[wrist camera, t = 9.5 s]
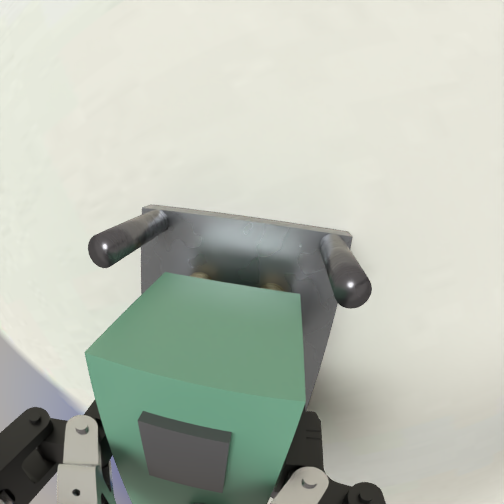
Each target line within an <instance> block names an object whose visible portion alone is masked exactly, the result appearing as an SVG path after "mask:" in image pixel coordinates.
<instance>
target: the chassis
mask: <svg viewBox="0 0 504 504" xmlns="http://www.w3.org/2000/svg"><path fill="white" fill-rule="evenodd" d="M351 241H352V236H351V234H350V233H349V232H347V231H341V230H334V229H328V228H322V227H315V226H309V225H302V224H296V223H289V222H282V221H275V220H268V219H261V218H254V217H247V216H240V215H232V214H225V213H217V212H209V211H201V210H193V209H185V208H176V207H168V206H159V205H148V206H145V207H143V208H142V215H140V216H138V217H135V218H133V219H131V220H128V221H126V222H124V223H121V224H119V225H117V226H115V227H112V228H110V229H108V230H106V231H103V232H101V233H99V234H97V235H95V236H93V237H92V238H91V239H90V241H89V245H88V251H89V255H90V258H91V259H92V261H93V262H94V263H95V264H96V265H97V266H99V267H102V268H108V267H110V266H112V265H113V264H115V263H116V262H118V261H119V260H121V259H122V258H124V257H125V256H127V255H129V254H130V253H132V252H133V251H135V250H136V249H138V248H139V247H141V293H142V294H143V293H144V292H145V291H146V290H147V289H148V288H149V287H150V286H151V285H152V284H153V283H154V282H155V281H156V280H157V279H158V278H159V277H160V276H161V275H162V274H164V273H165V272H168V273H173V274H179V275H185V276H190V277H196V278H202V279H208V280H214V281H220V282H226V283H232V284H238V285H244V286H251V287H257V288H263V289H270V290H276V291H283V292H290V293H297V294H300V300H301V316H302V332H303V351H304V372H305V398H306V402H305V408H306V409H307V406H308V403H309V400H310V397H311V394H312V391H313V388H314V385H315V382H316V378H317V375H318V372H319V369H320V365H321V362H322V359H323V355H324V352H325V348H326V345H327V341H328V338H329V334H330V330H331V327H332V323H333V319H334V315H335V311H336V307H337V303H338V304H340V305H341V306H343V307H345V308H357V307H359V306H361V305H363V304H364V303H365V302H366V301H367V300H368V299H369V297H370V295H371V290H372V287H371V283H370V281H369V279H368V277H367V276H366V274H365V273H364V271H363V269H362V268H361V266H360V265H359V263H358V262H357V260H356V258H355V257H354V255H353V254H352V252H351V251H350V246H351ZM274 490H275V486H274V488H273V491H272V493H271V495H270V497H272V498H275V497H276V496H277V494H278V492H274Z"/></svg>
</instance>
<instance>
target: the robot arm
mask: <svg viewBox="0 0 504 504" xmlns="http://www.w3.org/2000/svg"><path fill="white" fill-rule="evenodd" d="M321 439H322V435H321V421H320V419H319V418H318V416H317V414H316V413H315V412H307V411H306V408H305V405H304V408H303V411H302V414H301V417H300V420H299V423H298V426H297V428H296V431H295V434H294V437H293V440H292V442H291V445H290V448H289V450H288V453H287V456H286V458H285V461H284V463H283V466H282V469H281V471H280V474H279V476H278V479H277V481H276V483H275V490H274V492H278V494H277V496H276V497H275V498H274V500H273V501H272V502H271V503H270V504H386V503H385V500H384V497H383V494H382V491H381V490H380V488H379V487H377V486H376V485H374V484H372V483H368V482H361V483H358V484H355V485H354V486H353V487H351V486H347V485H344V484H340V483H337V482H335V481H333V480H331V479H330V478H329V477H328V476H327V475H326V473H325V471H324V468H323V451H322V440H321ZM112 455H113V454H112V452H111V449H110V446H109V443H108V440H107V437H106V434H105V431H104V427H103V424H102V421H101V417H100V414H99V410H98V407H97V403H96V399H95V400H94V402H93V403H92V404H91V406H90V407H89V408H88V410H87V411H86V412H85V414H84V415H77V416H74V417H72V418H70V419H69V420H68V421H65V420H59V419H53V418H50V416H49V414H48V413H47V411H46V410H44V409H42V408H38V407H33V408H30V409H27V410H26V411H25V412H24V413H22V414H21V415H20V416H19V417H18V418H17V419H15V420H14V421H13V422H12V423H11V424H10V425H9V426H8V427H6V428H5V429H4V430H3V431H2V432H1V433H0V504H29V503H30V501H31V500H32V499H33V498H34V497H35V496H36V495H37V494H38V493H39V491H40V490H41V489H42V488H43V487H44V486H45V485H46V483H47V482H48V481H49V480H50V479H51V478H52V477H53V476H54V475H55V473H56V472H57V504H116V502H115V498H114V493H113V483H112V472H111V461H110V459H111V457H112Z"/></svg>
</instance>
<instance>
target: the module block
mask: <svg viewBox="0 0 504 504" xmlns="http://www.w3.org/2000/svg"><path fill="white" fill-rule="evenodd" d="M85 357H86V361H87V366H88V371H89V375H90V379H91V384H92V388H93V392H94V396H95V399H96V403H97V407H98V410H99V414H100V417H101V421H102V424H103V427H104V431H105V434H106V437H107V440H108V443H109V446H110V449H111V452H112V454H113V457H114V460H115V463H116V465H117V468H118V471H119V473H120V476H121V478H122V480H123V483H124V486H125V488H126V490H127V493H128V495H129V497H130V500H131V502H132V504H267V502H268V500H269V498H270V495H271V493H272V491H273V488H274V486H275V483H276V481H277V479H278V476H279V474H280V471H281V469H282V466H283V463H284V461H285V458H286V456H287V453H288V450H289V448H290V445H291V442H292V440H293V437H294V434H295V431H296V428H297V426H298V423H299V420H300V417H301V414H302V411H303V408H304V405H305V402H306V398H305V372H304V351H303V332H302V316H301V300H300V294H297V293H290V292H283V291H276V290H270V289H263V288H257V287H251V286H244V285H238V284H232V283H226V282H220V281H214V280H208V279H202V278H196V277H190V276H185V275H179V274H173V273H168V272H165V273H164V274H162V275H161V276H160V277H159V278H158V279H157V280H156V281H155V282H154V283H153V284H152V285H151V286H150V287H149V288H148V289H147V290H146V291H145V292H144V293H143V294H142V295H141V296H140V297H139V298H138V299H137V300H136V301H135V302H134V303H133V304H132V305H131V306H130V307H129V308H128V309H127V310H126V311H125V312H124V313H123V314H122V315H121V316H120V317H119V318H118V319H117V320H116V321H115V322H114V323H113V324H112V325H111V326H110V327H109V328H108V329H107V330H106V331H105V332H104V333H103V334H102V335H101V336H100V337H99V338H98V339H97V340H96V341H95V342H94V343H93V344H92V345H91V346H90V347H89V348H88V350H87V351H86V352H85Z"/></svg>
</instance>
